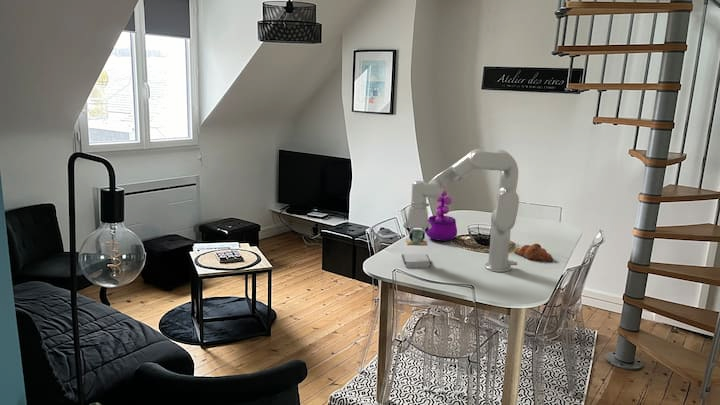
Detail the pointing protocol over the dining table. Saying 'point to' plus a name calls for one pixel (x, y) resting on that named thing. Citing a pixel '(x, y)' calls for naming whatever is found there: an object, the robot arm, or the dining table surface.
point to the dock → (416, 260)
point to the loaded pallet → (417, 238)
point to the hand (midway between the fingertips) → (416, 239)
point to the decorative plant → (442, 221)
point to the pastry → (534, 253)
